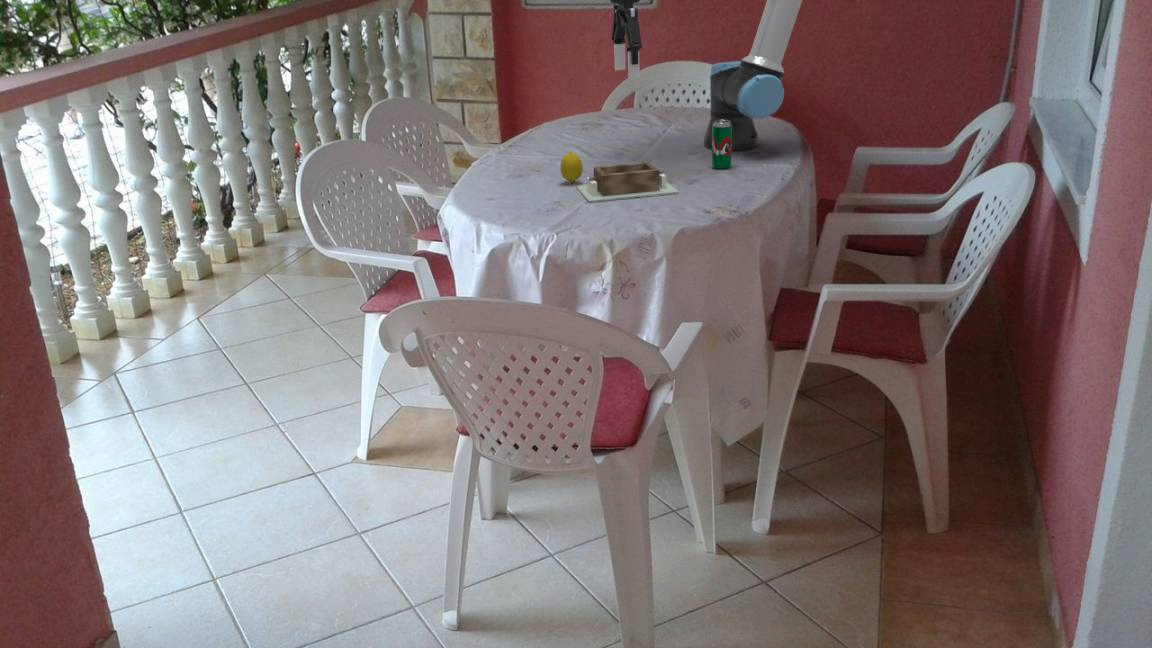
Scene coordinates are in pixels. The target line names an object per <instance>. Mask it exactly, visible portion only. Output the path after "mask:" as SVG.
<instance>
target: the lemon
mask: <svg viewBox="0 0 1152 648" xmlns="http://www.w3.org/2000/svg"><path fill="white" fill-rule="evenodd" d="M583 166H584V165H583V162H582V159H581V157H580V156H579V155H578V154H576V153H573V151H569V153H567V154H565V155H564V156H563V157H562V159H561V162H560V173H561V175H562V177H563V179H564V180H566V181H568V182H569V183H570V184H574V183H575V182H576V181H577V180H579V179H580V177H582V174H583V169H584V168H583Z"/></svg>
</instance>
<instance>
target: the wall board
mask: <svg viewBox="0 0 1152 648" xmlns="http://www.w3.org/2000/svg"><path fill="white" fill-rule="evenodd" d="M658 170H659V191H651V192H641V193H631V194H622V195H612V196H602V195H601V194H600V193H599V192H598V190H597V182H596V181H595V177H594V175H591V176H588V177H586V184H585V185H584V184H583V185H576V186H575V187H576V189H577V190H578V191H580V192H581V193H582V194H583V195H582V194H581V195H582V196H583V197H584V199H585V198H586V199H587V200H588V201H589V202H593V203H595V202H594V201H602V202H608V201H607V200H612V201H617V200H616V199H622V200H626V199H625V198H632V199H636V198H635V197H641V198H648V197H647V196H651V197H659V196H660V195H661V196H669V194H670V195H677V194H679V192H680V191H679V190H677V189H676V188H675V187H674V186H672V185H671V183H669V182H668V181H667V180H668V179H667V175H666V174H665V173H664V169H658ZM580 192H579V193H580ZM586 199H585V200H586ZM587 200H586V201H587ZM588 201H587V202H588ZM589 202H588V203H589Z"/></svg>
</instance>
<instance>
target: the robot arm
mask: <svg viewBox="0 0 1152 648" xmlns="http://www.w3.org/2000/svg"><path fill="white" fill-rule="evenodd" d="M609 2H610V3H611V4H613V18H612V26H611V27H612V29H611V38H610V39H611V40H612V42H613V52H614V53H613V56H614V71H624V70H626V65H627V73H628V74H627V78H628V79H639V78H640V77H641V73H640V71H641V69H640V50H641V49H643V44H642V38H641V37H642V36H641V31H640V24H639V13H638V11H639V10H638V8H637V7H634V4H636V3H639V2H641V0H609ZM802 2H803V0H766V2H765V6H764V9H763V12H762V15H761V18H760V21H759V25H758V27H757V31H756V34H755V37H754V40H753V43H752V45H751V50H750V53H749V54H748V55H747V56H745V57H743V58H742V59H741V60H738V61H725V62H716V63H714V64H712V66H711V68H710V76H709V79H710V85H709V86H710V88H709V89H710V93H709V94H710V95H709V96H710V97H709V98H710V104H709V105H710V115H709V116H710V118H709V122H708V124H707V127H706V130H705V134H704V136H703V146H704V147H706V148H707V149H711V150H712V125H713V124H714V121H716V120H729V121H731V124H732V151H743V150H749V149H754V148H756V147H758V146H759V135H758V131H757V127H756V124H755V121H754V119H759V120H760V119H765V118H768V117H770V116H771V115H774V114H775V113H777V111H778V110H779V108H780V107H781V106H782V103H783V101H784V99H785V98H784V97H785V88H784V87H783V82H782V80H783V79H784V78H783V77H784V74H785V70H784V68H783V65H782V62H783V59H784V56H785V53H786V51H787V47H788V43H789V40H790V38H791V35H792V32H793V29H794V27H795V23H796V19H797V17H798V14H799V10H800V9H801V5H802ZM625 37H626V38H625ZM626 43H627V45H628V47H626ZM626 52H627V63H628V64H626Z"/></svg>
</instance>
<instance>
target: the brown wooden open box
mask: <svg viewBox="0 0 1152 648" xmlns="http://www.w3.org/2000/svg"><path fill="white" fill-rule="evenodd" d="M659 170H660V169H658V168H657V167H656V166H655V165H653V164H652V163H651V162H649V161H644V162H633V163H624V164H623V163H622V164H612V165H602V166H594V167H593V176H594V177H595V181H596V182H597V190H598V192H599V193H600V194H601V195H602V196H612V195H622V194H631V193H641V192H651V191H659Z"/></svg>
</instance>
